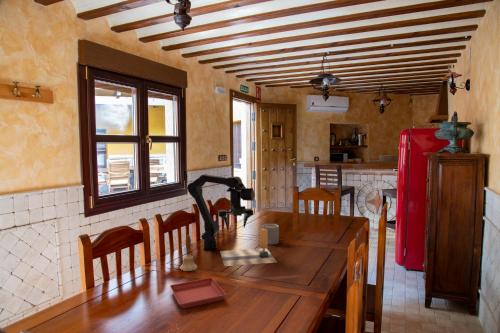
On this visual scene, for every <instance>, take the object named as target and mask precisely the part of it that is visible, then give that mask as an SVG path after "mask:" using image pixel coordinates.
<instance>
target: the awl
mask: <svg viewBox="0 0 500 333" xmlns="http://www.w3.org/2000/svg"><path fill="white" fill-rule="evenodd" d="M259 248H260V249H261V248H262V251H261V252H259V257H261V258H266V257H268V252H267V251H265V248H267V249H268V244H267V229H262V228H260V229H259Z"/></svg>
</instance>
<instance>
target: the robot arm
mask: <svg viewBox="0 0 500 333" xmlns="http://www.w3.org/2000/svg"><path fill="white" fill-rule="evenodd" d="M242 180H243V179H241V177H240V176H226V177H225V176H219V175H211V174H207V173H205V174H201V175H200V176H199V177H198V178H196V179H195V180H193V181H192V182H190V183H188V184H187V187H186V190H187V192H188V194H189V195H190V196H191V197H192V198H193V199H194V201H195V203H196V207H197V208H198V210H199V213H200V215H201V218H202V220H203V223H204V225H203V228H204V229H203V230H204V232H203V233H202V235H201V239H202V240H203V251H213V250H216V248H217V240H216V237H217V236H218V235H217V234H218V233H219V232H220V224H219V222H218V220H217V219H216V220H214V219H213V217H212V215H211V212H210V210H209V208H208V205H207V203H206V201H205V198H204V196H203V186H204V185H205V184H206V183H210V184H216V185H217V184H219V185H223V186H226V187H228V188H227V189H226V192H229V194H230V195H229V197H230V199H229V200H230V201H229V203H230V210H226V209H219V210H217V214H218V217H219V218H221V219H223V221H224V223H225V227H226V230H228V229H229V225H228V215H229V216H230V215H232V216H233V217H237V216H238V217H241V216H242V215H243V229H245V228H246V226H247V225H246V224H247V222H248V219H249V218H251V217H252V216H254V210H253V209H252V208H246V205H244V206H243V205H242V204H241V203H242V201H248V202H249V201H251V202H252V201H253V202H254V200H255V199H256V198H255V196H256V194H255V191H254V187H246V186H245V184H244V183H243V181H242Z"/></svg>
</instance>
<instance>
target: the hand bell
mask: <svg viewBox="0 0 500 333" xmlns="http://www.w3.org/2000/svg"><path fill="white" fill-rule="evenodd" d="M191 245H192V239H191V236H190V235H189V234H187V235H186V237H185V246H186V255H185V256H184V257H183V261H182V264H181V265H180V266H179V270H180V269H181V270H180V271H182V270H183V272H191V271H195V270H197V269H198V266H197V264H196V263H195V260H194V256H193V255H191Z"/></svg>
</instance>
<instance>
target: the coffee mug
mask: <svg viewBox="0 0 500 333" xmlns="http://www.w3.org/2000/svg"><path fill="white" fill-rule="evenodd" d="M279 226H280V225H278V224H276V223H265V224H262V226H261V229H267V246H268V245H271V246H272V245H278V244H279V243H280V242H279V240H280V238H279V235H280V234H279V233H280V231H279V230H280V228H279Z"/></svg>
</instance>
